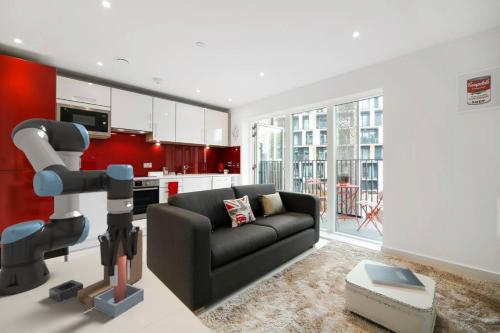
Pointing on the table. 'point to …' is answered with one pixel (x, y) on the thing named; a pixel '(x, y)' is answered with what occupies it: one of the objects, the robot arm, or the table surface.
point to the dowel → (120, 279)
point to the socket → (65, 290)
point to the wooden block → (135, 263)
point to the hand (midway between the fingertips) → (119, 281)
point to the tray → (114, 309)
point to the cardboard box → (93, 292)
